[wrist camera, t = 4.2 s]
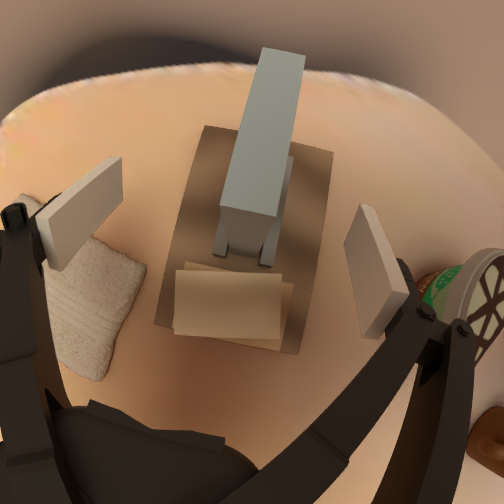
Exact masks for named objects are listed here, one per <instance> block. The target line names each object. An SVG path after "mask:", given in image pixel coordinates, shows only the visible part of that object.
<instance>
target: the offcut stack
mask: <svg viewBox="0 0 504 504" xmlns="http://www.w3.org/2000/svg"><path fill="white" fill-rule="evenodd" d="M293 286H294V284H291V283H286V282H282V274H271V273H241V272H233V271H228V270H224V269H219V268H215V267H210V266H205V265H201V264H196V263H192V262H187V261H185V265H184V270H176V279H175V306H174V318H173V323H172V328H173V329H174V335H187V336H203V337H211V338H215V339H220V340H224V341H229V342H234V343H238V344H243V345H248V346H254V347H259V348H264V349H270V350H275V351H280V348H281V343H282V339H283V334H284V329H285V325H286V320H287V315H288V311H289V306H290V301H291V296H292V291H293Z"/></svg>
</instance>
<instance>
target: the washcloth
mask: <svg viewBox="0 0 504 504" xmlns="http://www.w3.org/2000/svg"><path fill="white" fill-rule="evenodd" d="M18 202H20V203H24V204H26V208H27V212H28V217H29V218H30V217H31V216H32V215H33V214H34V213H35V212H37V211H38V210H39V209H40V208H41V207H43V206H42V205H41V204H39V203H38V201H37V202H36V201H35V200H34V199H33V198H31V197H29V196H28V195H26V194H20V195H19V196H18V198H17V199H16V200H14V201H13V202H12V204H13V203H18ZM3 230H5V229H4V228H3ZM42 266H43V269H44V279H45V289H46V297H47V305H48V312H49V319H50V325H51V331H52V336H53V342H54V347H55V351H56V356H57V359H58V360H59V361H60V362H61V363H63V364H64V365H65V366H67V367H68V368H69V369H71V370H72V371H73V372H75V373H77V374H78V375H81V376H83V377H85V378H88V379H91V380H93V381H95V382H101V381H102V380H103V378H104V376H105V374H106V371H107V368H108V365H109V360H110V359H111V356H112V351H113V347H114V345H113V343H114V340H115V337H116V336H117V334H118V330H119V329H120V327H121V323H122V322H123V320H124V319H125V318H126V317H127V315H128V314H129V312H130V309H131V307H132V303H133V302H134V300H135V297H136V294H137V293H138V292H139V287H140V286H141V283H142V281H143V278H144V276H145V273H146V265H144V264H140V263H138V262H137V261H133V260H132V259H131V258H129V257H127V255H126V254H123V253H119V251H116V250H113V249H111V248H110V247H109V246H107V245H104V243H102V242H100V241H98V239H95V238H94V237H92V236H91V237H90V238H89V239H88V240H87V241H86V243H85V244H84V245H83V246H82V247H81V249H80V250H79V251H78V252H77V254H76V255H75V256H74V257H73V258H72V260H71V261H70V262H69V264H68V265H67V266H66V267H65V269H64V270H63V271H62V272H59V271H56V270H53V269H50V268H49V266H48V262H47V259H45V260H44V261H43V263H42Z"/></svg>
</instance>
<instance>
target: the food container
mask: <svg viewBox="0 0 504 504" xmlns="http://www.w3.org/2000/svg"><path fill="white" fill-rule="evenodd" d="M415 285H416V287H417V290H418V292H419V295H420V297H421V300H422V301H424V302H426V303H427V304H429V305H430V306H431V307H432V308H433V309H434V310H435V312H436V314H437V319H438V320H440V321H442V322H444V323H446V324H449V325H450V323H451V322H452V321H453V320H454V319H456V318H460V319H463V320H465V321H466V322H468V323H469V325H470V326H471V327H472V329H473V331H474V334H475V366H476V365H477V363H478V362H479V360H480V359H481V357H482V356H483V355H484V353H485V352H486V350H487V349H488V348H489V346H490V345H491V344H492V342H493V341H494V340H495V339H496V337H497V336H498V334H499V333H500V332H501V330H502V329H503V327H504V249H496V248H488V249H484V250H481V251H479V252H477V253H475V254H474V255H473V256H471V257H470V258H469V259H468V260H467V261H466V262H465V264H462V265H459V266H455V267H452V268H448V269H445V270H441V271H438V272H434V273H430V274H427V275H425V276H424V277H423V278H421V279H420V280H419V281H418V282H417V283H416V284H415Z"/></svg>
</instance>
